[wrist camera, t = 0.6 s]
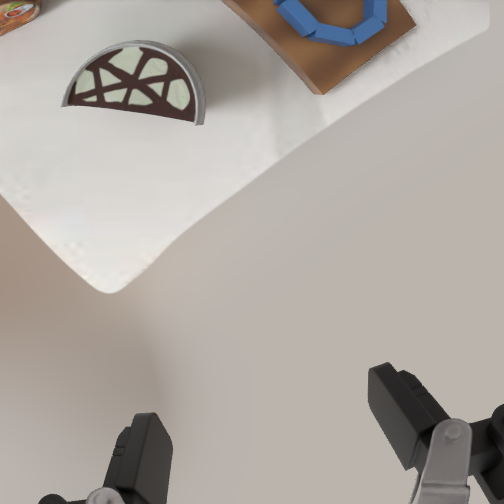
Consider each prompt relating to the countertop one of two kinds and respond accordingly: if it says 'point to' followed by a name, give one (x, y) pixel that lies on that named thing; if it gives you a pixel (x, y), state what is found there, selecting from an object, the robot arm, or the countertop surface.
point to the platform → (315, 53)
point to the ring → (332, 34)
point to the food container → (139, 82)
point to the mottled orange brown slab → (17, 13)
